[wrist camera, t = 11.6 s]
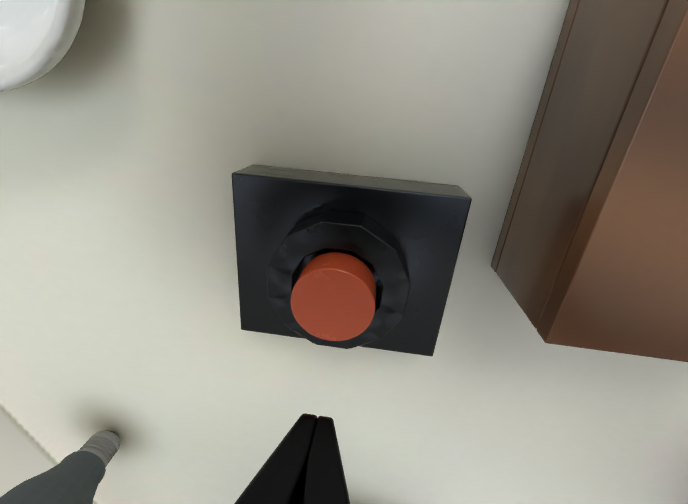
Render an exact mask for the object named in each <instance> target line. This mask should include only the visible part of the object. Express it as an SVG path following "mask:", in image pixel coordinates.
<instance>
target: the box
mask: <svg viewBox="0 0 688 504" xmlns="http://www.w3.org/2000/svg"><path fill="white" fill-rule="evenodd" d="M668 2H669V0H571V1H570V4H569V8H568V11H567V14H566V18H565V21H564V24H563V28H562V31H561V34H560V38H559V41H558V44H557V48H556V51H555V54H554V58H553V61H552V64H551V68H550V71H549V74H548V78H547V81H546V84H545V88H544V91H543V94H542V98H541V101H540V104H539V108H538V111H537V114H536V118H535V121H534V124H533V127H532V131H531V134H530V137H529V141H528V144H527V147H526V151H525V154H524V157H523V161H522V164H521V167H520V171H519V174H518V177H517V181H516V184H515V187H514V191H513V194H512V197H511V201H510V204H509V207H508V211H507V214H506V217H505V221H504V224H503V227H502V231H501V234H500V237H499V241H498V244H497V247H496V251H495V254H494V257H493V261H492V264H491V267H492V268H493V270H494V271H495V272H496V273H497V275H498V276H499V278H500V279H501V280H502V282H503V283H504V285H505V286H506V288H507V289H508V290H509V292H510V293H511V295H512V296H513V297H514V299H515V300H516V302H517V303H518V304H519V306H520V307H521V309H522V310H523V311H524V313H525V314H526V316H527V317H528V318H529V320H530V321H531V323H532V324H533V325H534V327H535V328H536V329H537V328H538V325H539V323H540V320H541V318H542V315H543V313H544V310H545V308H546V305H547V303H548V300H549V298H550V296H551V293H552V291H553V288H554V286H555V283H556V281H557V278H558V276H559V273H560V271H561V268H562V266H563V263H564V261H565V258H566V256H567V253H568V251H569V248H570V246H571V243H572V241H573V238H574V236H575V233H576V231H577V228H578V226H579V223H580V221H581V218H582V216H583V213H584V211H585V208H586V206H587V203H588V201H589V198H590V196H591V193H592V191H593V189H594V186H595V184H596V181H597V179H598V176H599V174H600V171H601V169H602V166H603V164H604V161H605V159H606V156H607V154H608V151H609V149H610V146H611V144H612V141H613V139H614V136H615V134H616V131H617V129H618V126H619V124H620V121H621V119H622V116H623V114H624V111H625V109H626V106H627V104H628V101H629V99H630V96H631V94H632V91H633V89H634V86H635V84H636V82H637V79H638V77H639V74H640V72H641V69H642V67H643V64H644V62H645V59H646V57H647V54H648V52H649V49H650V47H651V44H652V42H653V39H654V37H655V34H656V32H657V29H658V27H659V24H660V22H661V19H662V17H663V14H664V12H665V9H666V7H667V4H668Z"/></svg>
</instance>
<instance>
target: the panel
mask: <svg viewBox="0 0 688 504" xmlns="http://www.w3.org/2000/svg"><path fill="white" fill-rule="evenodd" d="M232 186H233V203H234V219H235V235H236V251H237V268H238V284H239V300H240V317H241V329H242V330H247V331H255V332H262V333H269V334H276V335H283V336H290V337H297V338H305V339H307V340H309V341H311V342H312V343H315V344H317V345H324V346H331V347H338V348H345V349H348V348H354V347H357V346H362V347H369V348H376V349H383V350H390V351H397V352H404V353H412V354H419V355H426V356H433V353H434V349H435V345H436V341H437V337H438V333H439V329H440V325H441V321H442V317H443V313H444V309H445V305H446V301H447V297H448V293H449V289H450V285H451V281H452V277H453V273H454V269H455V265H456V261H457V257H458V253H459V249H460V245H461V241H462V237H463V232H464V228H465V224H466V220H467V216H468V212H469V208H470V204H471V200H472V199H471V197H470V196H469V195H468V194H467V193H466V192H464V191H463V190H462V189H461V188H460V187H459V186H456V185H447V184H437V183H427V182H418V181H408V180H398V179H388V178H379V177H369V176H359V175H349V174H340V173H330V172H320V171H311V170H301V169H291V168H281V167H272V166H262V165H251V166H249V167H246V168H244V169H241V170H239V171H236V172H234V173H232ZM330 252H340V253H346V254H349V255H352V256H354V257H356V258H357V259H359V260H360V261H362V262H363V263H364V264H365V265H366V266H367V267H368V268H369V270H370V271H371V273H372V274H373V277H374V279H375V284H376V298H375V313H374V317H373V320H372V322H371V323H370V325H369V326H368V327H367V329H366V330H365V331H364V332H362V333H361V334H360V335H358V336H356V337H354V338H351V339H348V340H344V341H329V340H324V339H320V338H318V337H315V336H313V335H312V334H310V333H308V332H307V331H306V330H304V329H303V328H302V327H301V326H300V325H299V323H298V322H297V321H296V319H295V317H294V315H293V312H292V309H291V301H290V300H291V293H292V290H293V288H294V286H295V284H296V282H297V280H298V278H299V276H300V274H301V272H302V270H303V269H304V267H305V266H306V264H307V263H308V262H309V261H310V260H312V259H313V258H315V257H317V256H319V255H321V254H324V253H330Z"/></svg>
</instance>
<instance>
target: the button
mask: <svg viewBox="0 0 688 504" xmlns="http://www.w3.org/2000/svg"><path fill="white" fill-rule="evenodd" d="M375 298H376V284H375V279H374V277H373V274H372V273H371V271H370V270H369V268H368V267H367V266H366V265H365V264H364V263H363V262H362V261H360V260H359V259H357V258H356V257H354V256H352V255H349V254H346V253H340V252H330V253H324V254H321V255H319V256H317V257H315V258H313V259H312V260H310V261H309V262H308V263H307V264H306V266H305V267H304V269H303V270H302V272H301V274H300V276H299V278H298V280H297V282H296V284H295V286H294V288H293V290H292V293H291V300H290V301H291V309H292V312H293V315H294V317H295V319H296V321H297V322H298V323H299V325H300V326H301V327H302V328H303V329H304V330H306V331H307V332H308V333H310V334H312V335H313V336H315V337H318V338H320V339H324V340H329V341H344V340H348V339H351V338H354V337H356V336H358V335H360V334H361V333H362V332H364V331H365V330H366V329H367V327H368V326H369V325H370V323H371V322H372V320H373V317H374V313H375Z"/></svg>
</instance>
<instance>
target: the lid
mask: <svg viewBox="0 0 688 504" xmlns="http://www.w3.org/2000/svg"><path fill="white" fill-rule="evenodd" d="M537 332H538V333H539V334H540V336H541V337H542V339H543V340H544V342H545V343H550V344H557V345H565V346H572V347H580V348H587V349H595V350H602V351H609V352H617V353H624V354H632V355H639V356H647V357H654V358H662V359H669V360H677V361H684V362H688V0H669V2H668V4H667V7H666V9H665V12H664V14H663V17H662V19H661V22H660V24H659V27H658V29H657V32H656V34H655V37H654V39H653V42H652V44H651V47H650V49H649V52H648V54H647V57H646V59H645V62H644V64H643V67H642V69H641V72H640V74H639V77H638V79H637V82H636V84H635V86H634V89H633V91H632V94H631V96H630V99H629V101H628V104H627V106H626V109H625V111H624V114H623V116H622V119H621V121H620V124H619V126H618V129H617V131H616V134H615V136H614V139H613V141H612V144H611V146H610V149H609V151H608V154H607V156H606V159H605V161H604V164H603V166H602V169H601V171H600V174H599V176H598V179H597V181H596V184H595V186H594V189H593V191H592V193H591V196H590V198H589V201H588V203H587V206H586V208H585V211H584V213H583V216H582V218H581V221H580V223H579V226H578V228H577V231H576V233H575V236H574V238H573V241H572V243H571V246H570V248H569V251H568V253H567V256H566V258H565V261H564V263H563V266H562V268H561V271H560V273H559V276H558V278H557V281H556V283H555V286H554V288H553V291H552V293H551V296H550V298H549V300H548V303H547V305H546V308H545V310H544V313H543V315H542V318H541V320H540V323H539V325H538V328H537Z"/></svg>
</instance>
